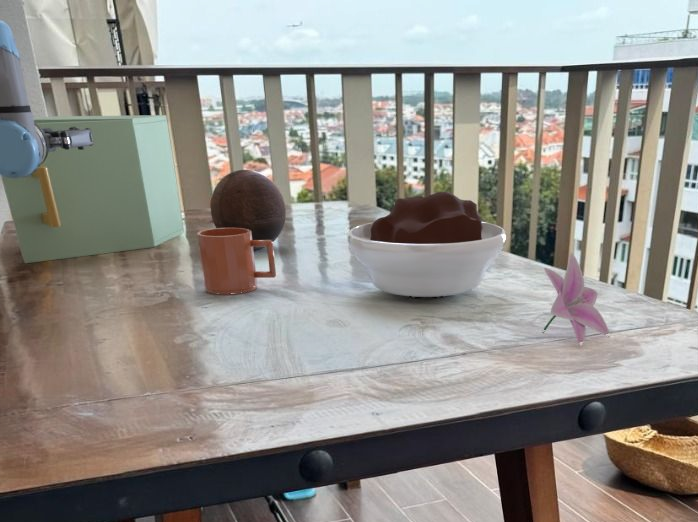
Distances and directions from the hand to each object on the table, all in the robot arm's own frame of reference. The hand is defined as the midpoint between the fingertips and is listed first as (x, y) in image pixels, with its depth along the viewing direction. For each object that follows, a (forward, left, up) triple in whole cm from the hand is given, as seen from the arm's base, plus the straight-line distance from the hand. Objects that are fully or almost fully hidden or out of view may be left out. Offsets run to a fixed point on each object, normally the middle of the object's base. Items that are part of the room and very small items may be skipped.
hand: (35, 136), depth 136 cm
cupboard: (+1, +26, -22) cm, 34 cm away
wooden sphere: (+35, +12, -22) cm, 43 cm away
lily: (+90, -53, -22) cm, 107 cm away
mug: (+39, -23, -22) cm, 51 cm away
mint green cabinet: (+4, +5, -22) cm, 23 cm away
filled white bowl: (+71, -27, -22) cm, 79 cm away
